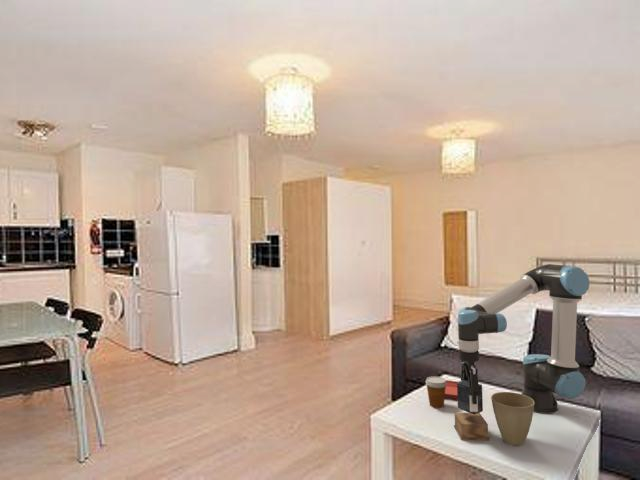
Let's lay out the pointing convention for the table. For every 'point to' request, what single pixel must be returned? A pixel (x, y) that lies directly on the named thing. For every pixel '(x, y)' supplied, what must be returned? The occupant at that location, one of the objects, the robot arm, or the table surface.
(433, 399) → the disposable coffee cup
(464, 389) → the box
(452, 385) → the plant saucer
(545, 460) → the table surface
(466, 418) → the pedestal
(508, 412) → the plant pot
